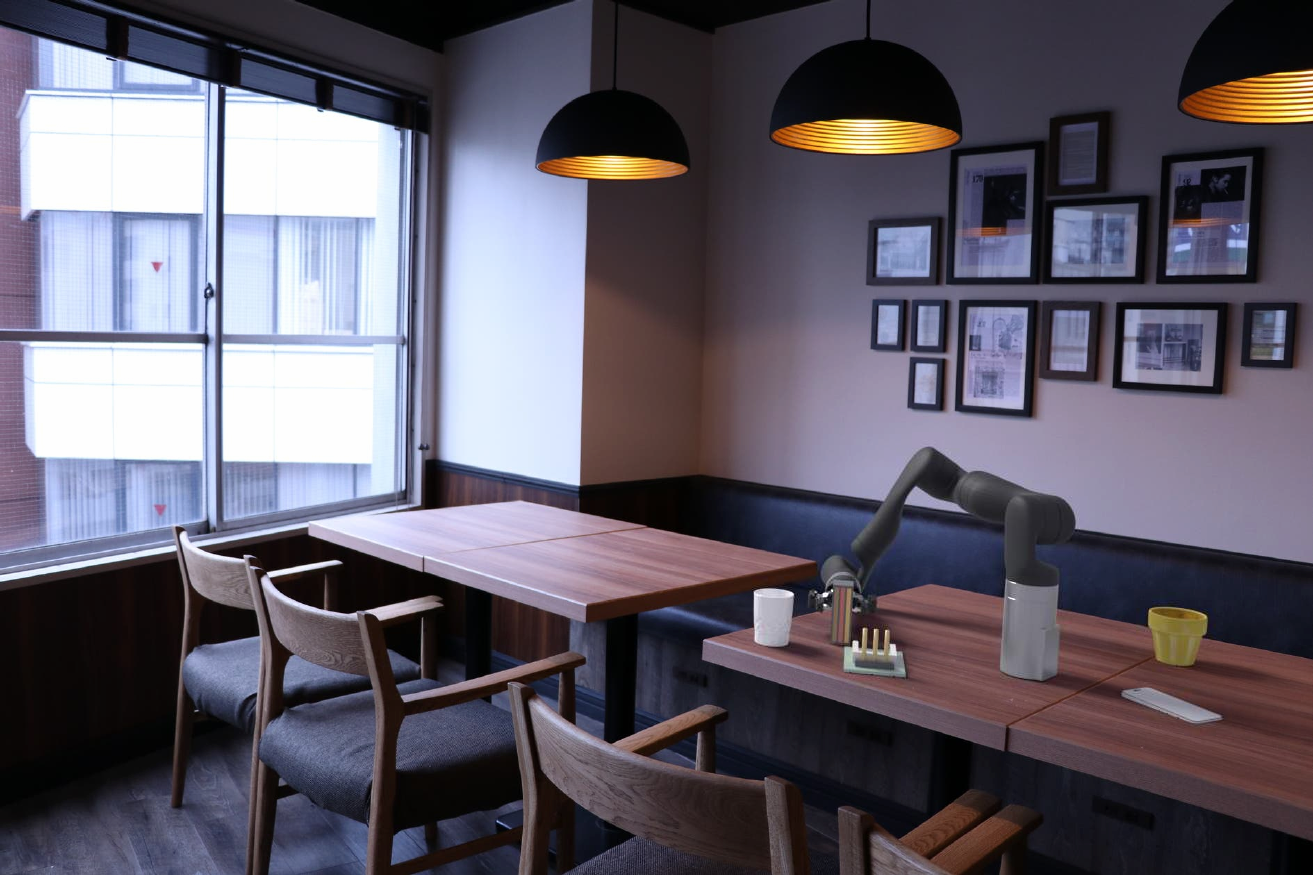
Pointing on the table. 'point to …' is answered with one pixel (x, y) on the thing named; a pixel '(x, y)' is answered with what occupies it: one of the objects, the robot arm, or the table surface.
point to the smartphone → (1170, 705)
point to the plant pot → (1176, 634)
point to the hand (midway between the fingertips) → (842, 609)
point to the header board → (874, 658)
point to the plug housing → (841, 612)
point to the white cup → (772, 616)
